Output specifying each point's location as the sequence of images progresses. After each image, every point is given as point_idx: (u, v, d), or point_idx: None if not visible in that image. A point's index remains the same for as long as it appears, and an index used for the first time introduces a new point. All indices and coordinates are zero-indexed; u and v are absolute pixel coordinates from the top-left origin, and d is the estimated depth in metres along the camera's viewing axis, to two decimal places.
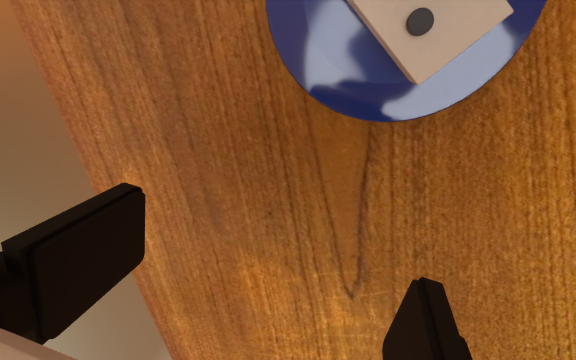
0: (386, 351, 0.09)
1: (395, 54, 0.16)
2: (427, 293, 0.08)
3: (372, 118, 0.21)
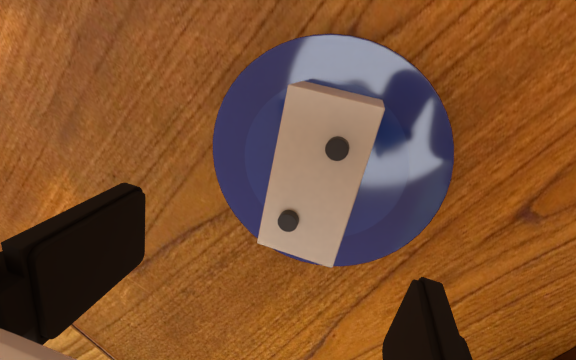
0: (386, 351, 0.09)
1: (262, 216, 0.19)
2: (427, 293, 0.08)
3: (233, 209, 0.23)
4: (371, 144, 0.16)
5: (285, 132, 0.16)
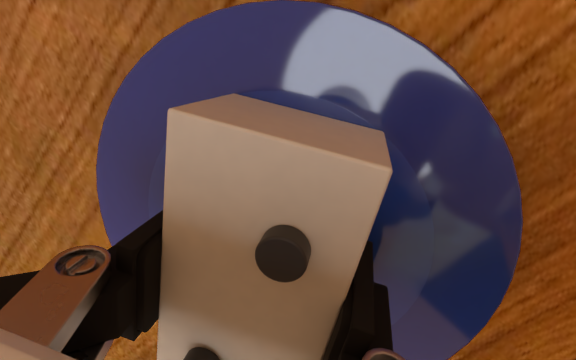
0: None
1: (157, 350, 0.10)
2: None
3: None
4: (360, 246, 0.07)
5: (175, 209, 0.08)
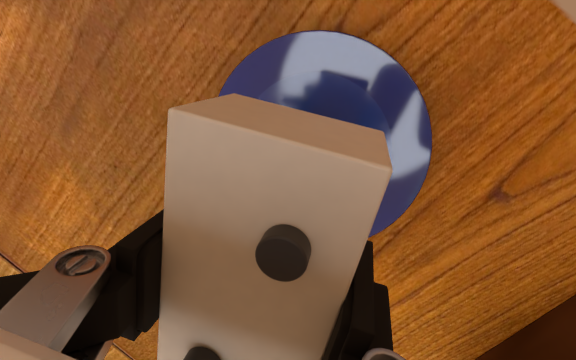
0: None
1: (158, 350, 0.10)
2: None
3: None
4: (360, 245, 0.07)
5: (176, 209, 0.08)
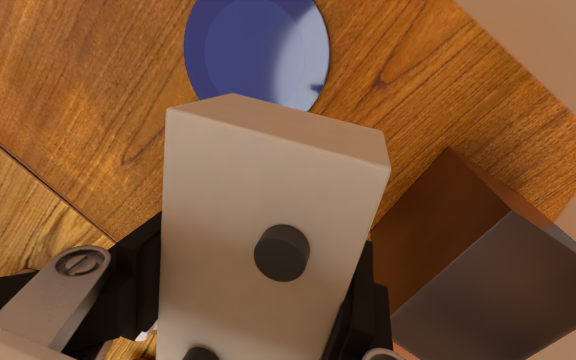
0: None
1: (156, 350, 0.10)
2: None
3: (199, 96, 0.35)
4: (359, 246, 0.07)
5: (174, 209, 0.08)
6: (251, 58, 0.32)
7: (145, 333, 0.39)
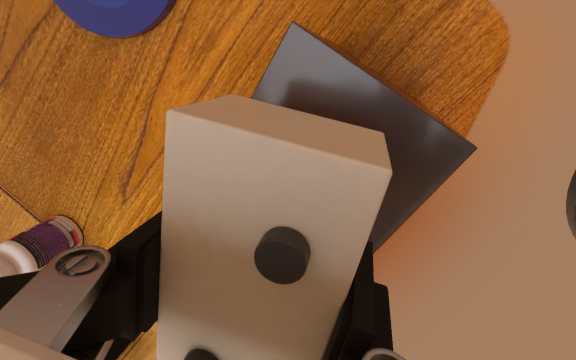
0: None
1: (156, 352, 0.10)
2: None
3: None
4: (360, 248, 0.07)
5: (174, 211, 0.08)
6: None
7: None
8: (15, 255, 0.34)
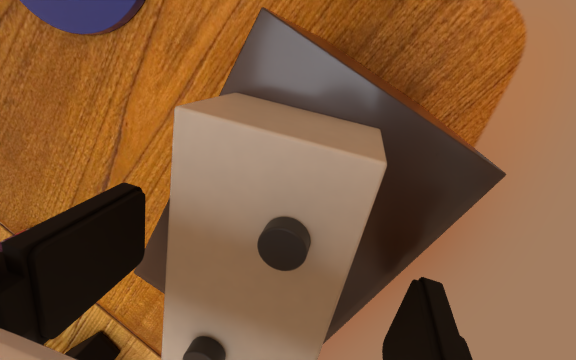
0: (386, 352, 0.09)
1: (163, 340, 0.10)
2: (427, 293, 0.08)
3: None
4: (357, 236, 0.07)
5: (181, 202, 0.08)
6: None
7: None
8: None
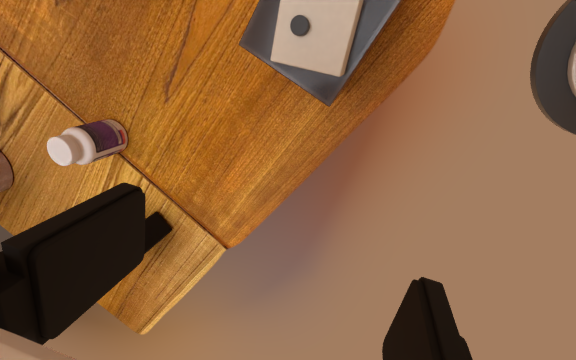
0: (386, 352, 0.09)
1: (276, 28, 0.20)
2: (427, 293, 0.08)
3: None
4: None
5: None
6: None
7: (69, 154, 0.40)
8: (80, 137, 0.41)
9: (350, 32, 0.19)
